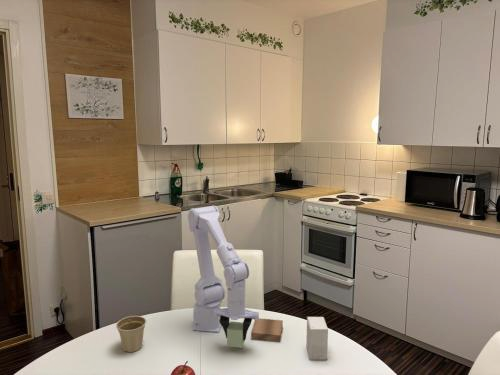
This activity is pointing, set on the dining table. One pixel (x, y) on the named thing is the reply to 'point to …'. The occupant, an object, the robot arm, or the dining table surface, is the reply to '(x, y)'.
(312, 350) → the small box
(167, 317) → the dining table surface
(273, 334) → the walnut pad
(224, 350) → the dining table surface
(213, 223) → the robot arm
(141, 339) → the flower pot
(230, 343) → the sage block
